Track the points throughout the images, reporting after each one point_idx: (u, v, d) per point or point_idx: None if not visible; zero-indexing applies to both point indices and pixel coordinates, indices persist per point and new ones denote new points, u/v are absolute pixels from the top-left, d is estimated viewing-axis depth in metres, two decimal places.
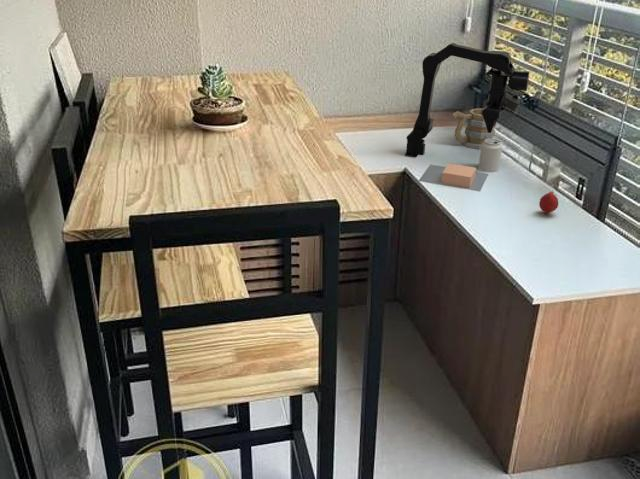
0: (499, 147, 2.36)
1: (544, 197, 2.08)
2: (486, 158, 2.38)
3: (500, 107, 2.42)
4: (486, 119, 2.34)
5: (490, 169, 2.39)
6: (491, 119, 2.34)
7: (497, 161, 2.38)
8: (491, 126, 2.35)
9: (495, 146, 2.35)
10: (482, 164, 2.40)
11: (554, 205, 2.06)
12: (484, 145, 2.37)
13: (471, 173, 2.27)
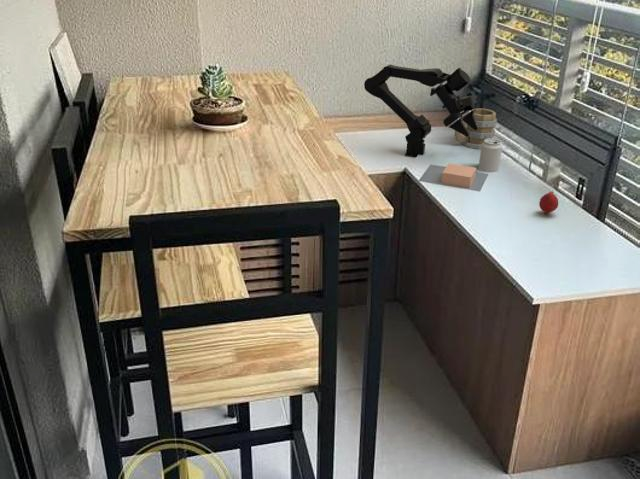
0: (499, 147, 2.36)
1: (544, 197, 2.08)
2: (486, 158, 2.38)
3: (469, 111, 2.44)
4: (454, 127, 2.37)
5: (490, 169, 2.39)
6: (458, 124, 2.36)
7: (497, 161, 2.38)
8: (463, 130, 2.36)
9: (495, 146, 2.35)
10: (482, 164, 2.40)
11: (554, 205, 2.06)
12: (484, 145, 2.37)
13: (471, 173, 2.27)
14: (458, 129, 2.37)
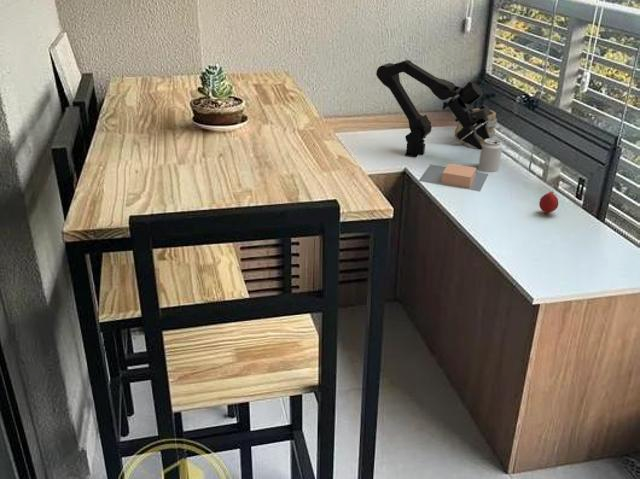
0: (499, 147, 2.36)
1: (544, 197, 2.08)
2: (486, 158, 2.38)
3: (482, 124, 2.43)
4: (468, 141, 2.36)
5: (490, 169, 2.39)
6: (472, 137, 2.36)
7: (497, 161, 2.38)
8: (477, 143, 2.35)
9: (495, 146, 2.35)
10: (482, 164, 2.40)
11: (554, 205, 2.06)
12: (484, 145, 2.37)
13: (471, 173, 2.27)
14: (471, 142, 2.36)
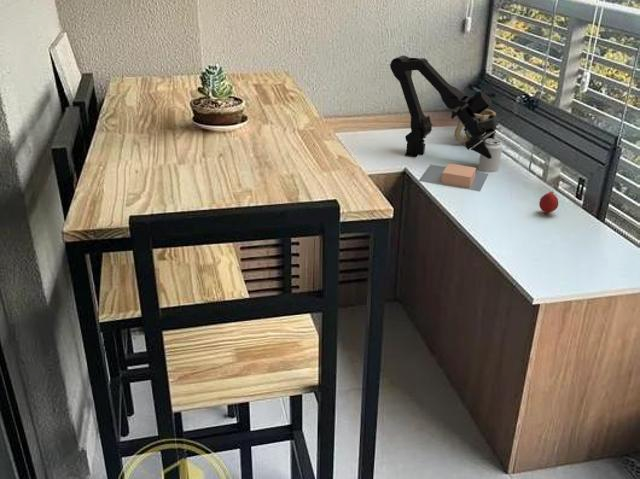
0: (499, 147, 2.36)
1: (544, 197, 2.08)
2: (486, 158, 2.38)
3: (490, 134, 2.42)
4: (477, 150, 2.36)
5: (490, 169, 2.39)
6: (481, 147, 2.36)
7: (497, 161, 2.38)
8: (486, 152, 2.36)
9: (495, 146, 2.35)
10: (482, 164, 2.40)
11: (554, 205, 2.06)
12: None
13: (471, 173, 2.27)
14: (481, 151, 2.36)
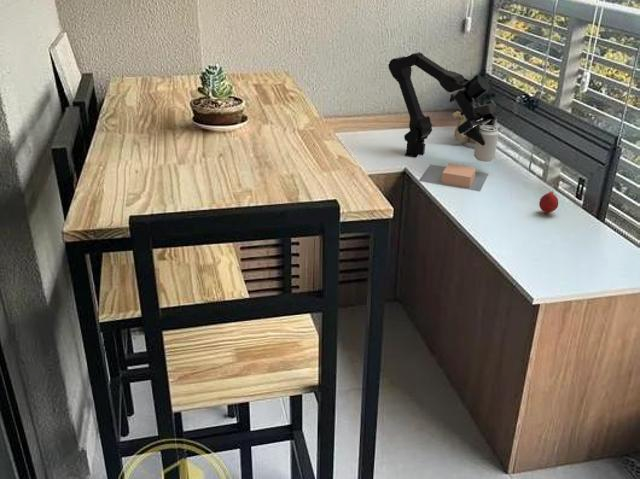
0: (494, 134, 2.28)
1: (544, 197, 2.08)
2: (480, 144, 2.31)
3: (489, 121, 2.35)
4: (470, 135, 2.30)
5: (483, 156, 2.32)
6: (474, 132, 2.29)
7: (491, 149, 2.31)
8: (479, 138, 2.29)
9: (489, 133, 2.28)
10: (476, 151, 2.33)
11: (554, 205, 2.06)
12: None
13: (471, 173, 2.27)
14: (474, 137, 2.30)
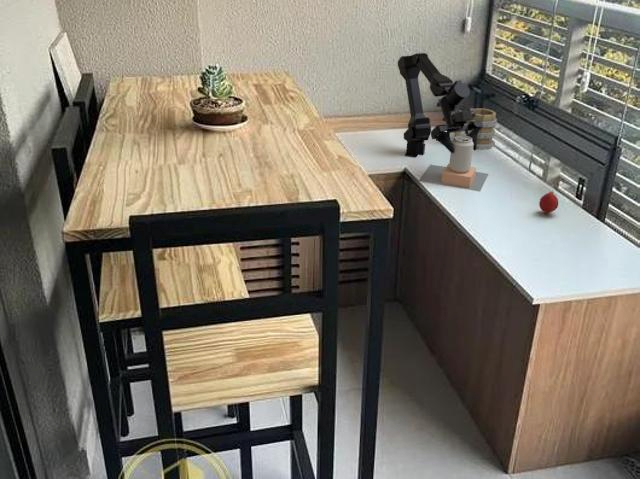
0: (465, 145, 2.22)
1: (544, 197, 2.08)
2: (452, 154, 2.26)
3: (473, 129, 2.27)
4: (442, 141, 2.25)
5: (454, 167, 2.26)
6: (445, 139, 2.24)
7: (462, 160, 2.24)
8: (448, 145, 2.23)
9: (460, 143, 2.22)
10: (450, 160, 2.28)
11: (554, 205, 2.06)
12: None
13: (471, 173, 2.27)
14: (445, 144, 2.25)
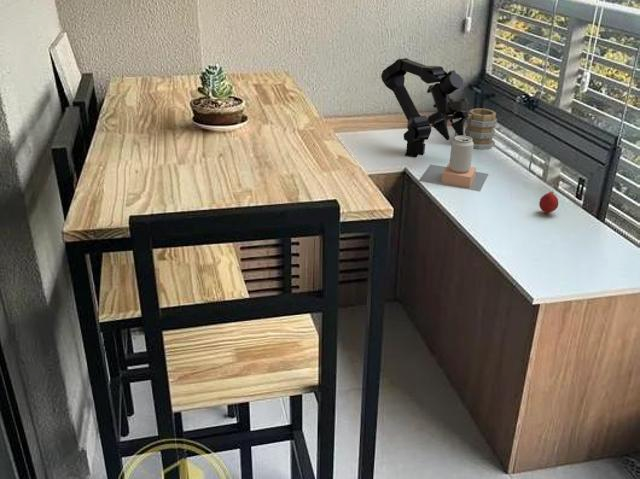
0: (465, 145, 2.22)
1: (544, 197, 2.08)
2: (452, 154, 2.26)
3: (460, 119, 2.38)
4: (437, 128, 2.32)
5: (454, 167, 2.26)
6: (442, 125, 2.31)
7: (462, 160, 2.24)
8: (445, 132, 2.31)
9: (460, 143, 2.22)
10: (450, 160, 2.28)
11: (554, 205, 2.06)
12: (453, 140, 2.25)
13: (471, 173, 2.27)
14: (440, 130, 2.32)
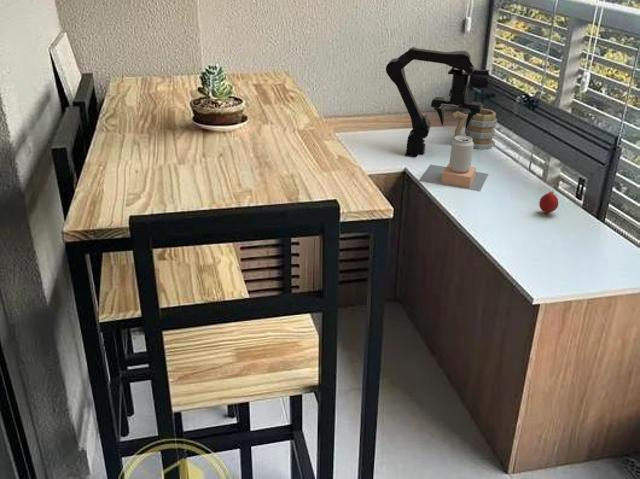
0: (465, 145, 2.22)
1: (544, 197, 2.08)
2: (452, 154, 2.26)
3: (442, 106, 2.48)
4: (471, 116, 2.42)
5: (454, 167, 2.26)
6: None
7: (462, 160, 2.24)
8: None
9: (460, 143, 2.22)
10: (450, 160, 2.28)
11: (554, 205, 2.06)
12: (453, 140, 2.25)
13: (471, 173, 2.27)
14: None
